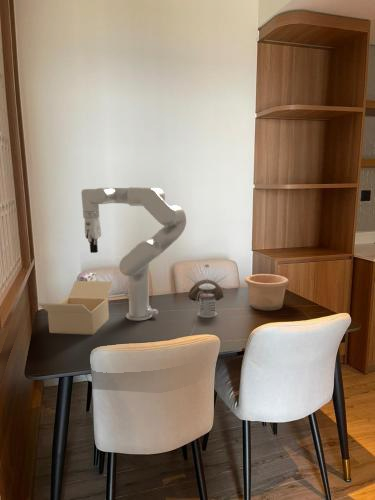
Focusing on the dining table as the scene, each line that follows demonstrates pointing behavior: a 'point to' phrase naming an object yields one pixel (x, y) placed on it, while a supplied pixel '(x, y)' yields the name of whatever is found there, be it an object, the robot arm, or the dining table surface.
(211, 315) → the french press
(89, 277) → the candy bar box
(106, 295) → the back flap
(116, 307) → the dining table surface
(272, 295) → the pottery
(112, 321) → the dining table surface
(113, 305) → the dining table surface
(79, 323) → the carton
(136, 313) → the robot arm
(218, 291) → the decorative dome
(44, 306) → the front flap
